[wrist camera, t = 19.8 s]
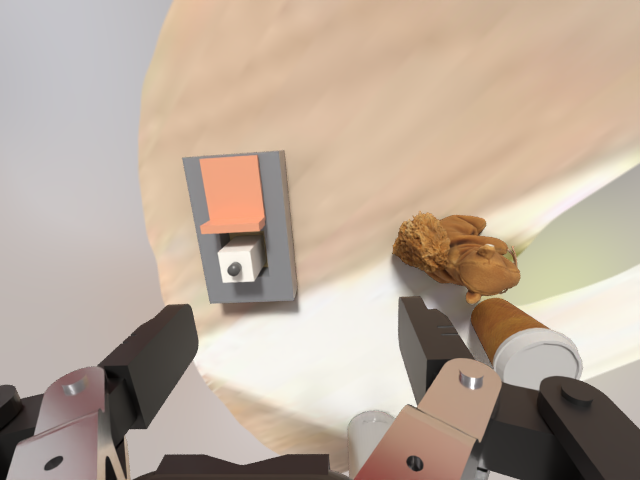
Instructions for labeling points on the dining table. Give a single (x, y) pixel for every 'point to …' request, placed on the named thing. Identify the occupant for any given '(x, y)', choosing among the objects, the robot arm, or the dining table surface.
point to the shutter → (233, 194)
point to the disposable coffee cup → (523, 345)
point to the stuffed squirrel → (457, 254)
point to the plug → (242, 258)
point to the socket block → (277, 233)
